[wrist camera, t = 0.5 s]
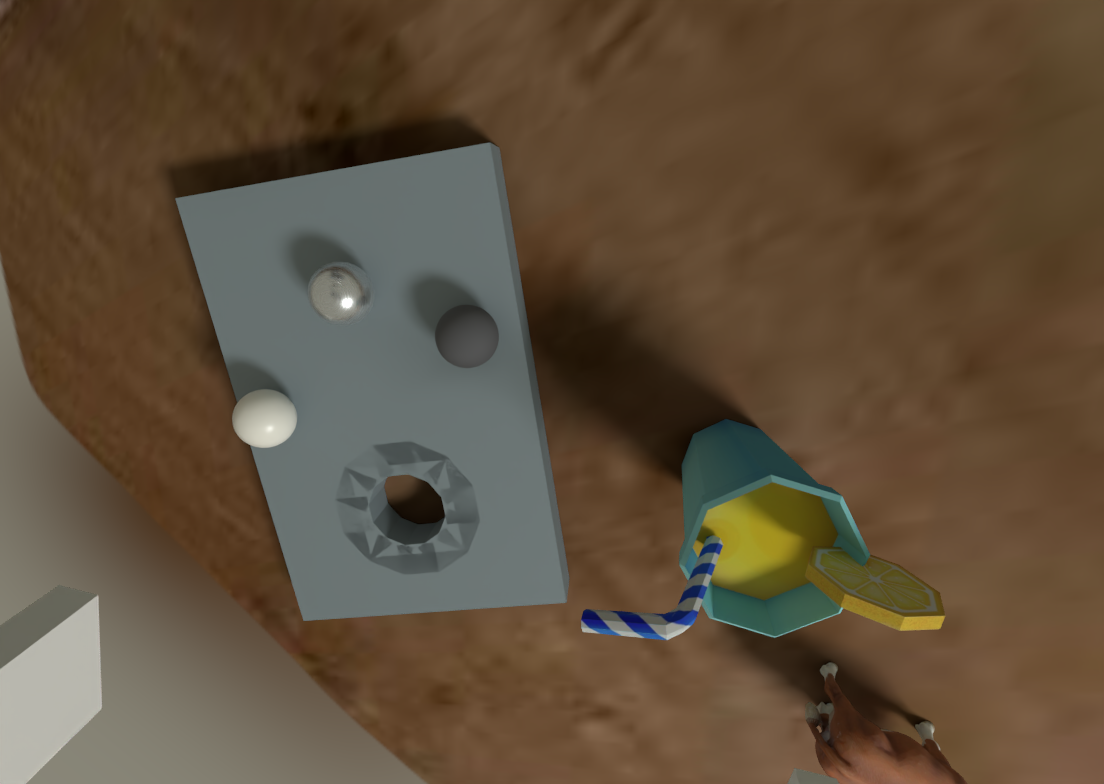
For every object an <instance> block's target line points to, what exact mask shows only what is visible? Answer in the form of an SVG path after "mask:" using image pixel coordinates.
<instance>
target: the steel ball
mask: <svg viewBox="0 0 1104 784" xmlns="http://www.w3.org/2000/svg"><path fill="white" fill-rule="evenodd" d="M374 297H375V292H374V287H373V284H372V282H371V280H370V278H369V277H368V275H367V274H366V273H365V272H364V271H363V270H362V269H361V268H359V267H357V266H356V265H354V264H351V263H348V262H331V263H328V264H325V265H323V266H322V267H320V268H319V269H318V270H317V271H316V272H315V273H314V274H313V276H312V277H311V279H310V281H309V285H308V299H309V303H310V305H311V307H312V309H313V310H314V312H315V313H316V314H317V315H318V316H319V317H320V318H321V319H323V320H324V321H326V322H328V323H331V324H334V325H341V326H345V325H351V324H355V323H357V322H359V321H361V320H362V319H363V318H365V317H366V316H367V315H368V313H369V312H370V310H371V309H372V306H373V303H374Z"/></svg>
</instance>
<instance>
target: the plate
mask: <svg viewBox="0 0 1104 784" xmlns="http://www.w3.org/2000/svg"><path fill="white" fill-rule="evenodd" d="M175 199H176V203H177V206H178V209H179V212H180V216H181V219H182V222H183V226H184V229H185V232H186V235H187V239H188V242H189V245H190V249H191V252H192V255H193V258H194V262H195V265H196V268H197V272H198V275H199V278H200V282H201V285H202V288H203V291H204V295H205V298H206V301H207V305H208V308H209V311H210V314H211V318H212V321H213V324H214V328H215V331H216V334H217V337H218V341H219V344H220V347H221V351H222V354H223V357H224V361H225V364H226V367H227V370H228V374H229V377H230V380H231V384H232V387H233V390H234V393H235V397H236V400H237V403H238V402H239V400H240V399H241V398H242V397H244V396H245V395H247V394H248V393H250V392H253V391H256V390H261V389H270V390H275V391H278V392H280V393H282V394H284V395H285V396H287V397H288V398H289V399H290V400H291V402H292V403H293V405H294V407H295V409H296V412H297V424H296V427H295V430H294V431H293V433H292V434H291V436H290V437H289V438H288V439H287V440H286V441H284V442H283V443H281V444H279V445H277V446H274V447H269V448H259V447H254V446H251V445H250V446H251V449H252V453H253V456H254V459H255V463H256V466H257V469H258V472H259V476H260V479H261V482H262V486H263V489H264V492H265V495H266V499H267V502H268V505H269V509H270V512H271V515H272V518H273V522H274V525H275V528H276V532H277V535H278V538H279V542H280V545H281V548H282V551H283V555H284V558H285V561H286V565H287V568H288V571H289V574H290V578H291V581H292V584H293V588H294V591H295V594H296V597H297V601H298V604H299V607H300V611H301V614H302V617H303V621H308V620H323V619H337V618H352V617H366V616H381V615H395V614H409V613H424V612H438V611H453V610H467V609H482V608H496V607H511V606H525V605H539V604H554V603H566V602H567V593H568V585H569V573H568V567H567V561H566V555H565V549H564V543H563V537H562V530H561V524H560V518H559V512H558V506H557V500H556V493H555V487H554V481H553V475H552V469H551V463H550V457H549V450H548V444H547V438H546V432H545V426H544V420H543V413H542V407H541V401H540V395H539V389H538V383H537V377H536V370H535V364H534V358H533V352H532V346H531V340H530V334H529V327H528V321H527V315H526V309H525V303H524V297H523V290H522V284H521V278H520V272H519V266H518V260H517V254H516V247H515V241H514V235H513V229H512V223H511V217H510V210H509V204H508V198H507V192H506V186H505V180H504V174H503V167H502V161H501V155H500V149H499V147H497V146H495V145H494V144H492V143H484V144H478V145H473V146H467V147H462V148H456V149H450V150H445V151H439V152H433V153H428V154H422V155H416V156H411V157H405V158H400V159H394V160H388V161H383V162H377V163H371V164H366V165H360V166H355V167H349V168H343V169H338V170H332V171H326V172H321V173H315V174H310V175H304V176H298V177H293V178H287V179H281V180H276V181H270V182H264V183H259V184H253V185H248V186H242V187H236V188H231V189H225V190H219V191H214V192H208V193H203V194H197V195H191V196H186V197H180V198H175ZM331 262H348V263H351V264H354V265H356V266H357V267H359V268H361V269H362V270H363V271H364V272H365V273H366V274H367V275H368V277H369V278H370V280H371V282H372V284H373V287H374V292H375V297H374V303H373V306H372V309H371V310H370V312H369V313H368V315H367V316H366V317H365V318H363V319H362V320H361V321H359V322H357V323H355V324H351V325H345V326H341V325H334V324H331V323H328V322H326V321H324V320H323V319H321V318H320V317H319V316H318V315H317V314H316V313H315V312H314V310H313V309H312V307H311V305H310V303H309V299H308V285H309V281H310V279H311V277H312V276H313V274H314V273H315V272H316V271H317V270H318V269H319V268H320V267H322V266H323V265H325V264H328V263H331ZM459 305H474V306H477V307H480V308H482V309H484V310H485V311H486V312H488V313H489V314H490V315H491V316H492V318H493V319H494V321H495V323H496V325H497V327H498V332H499V342H498V346H497V349H496V351H495V353H494V354H493V356H492V357H491V358H490V359H489V360H488V361H487V362H485V363H484V364H482V365H480V366H477V367H473V368H461V367H457V366H455V365H453V364H451V363H449V362H448V361H446V360H445V359H444V358H443V357H442V355H441V354H440V352H439V351H438V348H437V346H436V342H435V330H436V326H437V324H438V321H439V320H440V318H441V317H442V316H443V315H444V314H445V313H446V312H447V311H448V310H450V309H451V308H453V307H456V306H459ZM406 474H409V475H411V476H414V477H416V478H419V479H421V480H424V481H426V482H428V483H429V484H430V485H431V486H432V487H433V488H434V490H435V491H436V492H437V493H438V494H439V495H440V496H441V498H442V502H443V507H444V511H445V517H444V518H442V519H441V520H440V521H438V522H437V523H429V524H416V523H413V522H411V521H408V520H406V519H403V518H401V517H400V516H399V515H398V514H397V513H396V512H395V511H394V510H393V508H392V507H391V506H390V505H389V504H388V501H387V497H386V493H385V489H384V484H385V481H386V478H387V477H388V476H397V475H406Z"/></svg>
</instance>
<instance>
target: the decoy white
mask: <svg viewBox="0 0 1104 784" xmlns="http://www.w3.org/2000/svg"><path fill="white" fill-rule="evenodd" d="M232 422H233V427H234V430H235V432H236V434H237V435H238V436H239V437H240V438H241V439H242V440H243V441H244V442H246V443H247V444H249V445H251V446H254V447H259V448H269V447H274V446H277V445H279V444H281V443H283V442H284V441H286V440H287V439H288V438H289V437H290V436H291V434H292V433H293V431H294V430H295V427H296V424H297V412H296V409H295V407H294V405H293V403H292V402H291V400H290V399H289V398H288V397H287V396H285V395H284V394H282V393H280V392H278V391H275V390H270V389H261V390H256V391H253V392H250V393H248V394H247V395H245V396H244V397H242V398H241V399H240V400H239V402H238V403H237V404H236V406H235V408H234V411H233V415H232Z"/></svg>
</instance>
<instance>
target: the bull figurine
mask: <svg viewBox="0 0 1104 784" xmlns="http://www.w3.org/2000/svg"><path fill="white" fill-rule="evenodd" d="M837 670H838V667H837V665H836V664H835V663H832V662H829V663H827V664H826V665H823V666H822V667H821V669H820V672H821V674H822V675H823V677H824V679H825V687H824V690H825V693H826V694H827V695H828V696H829V698H830V699H831V701H832V703H828V704H826V705H825V704H824V703H823V702H821V703H820V704H819V705H818V706H815V705H814V704H813V703H811V702H808V704H806V710H805V718H806V721H807V723H808V725H809V727H810V729H811V731H812V733H813V735H814V737H815V739H816V744H815V747H816V754H817V757H818V760H819V763H820V765H821V766H822V768H823V770H824V771H825V772H826V774H827V775H828V776H829V777H832V778H836V779H837V781H838V783H840V784H967V782H966V781H965V780H964V779H963V777H962V776H960V775H959V774H958V773H957V772H956V771H955V770H953V769H952V768H951V766H950V764H949V762H948V761H947V759H946V758H945V757H944V755H943V754H942V753H941V751H940V748H939V746H938V744H937V743H936V742H935V741H934V740H933V732H934V726H933V724H932V723H931V722H929V721H924V722H921V723H920V724H919V725H918V724H916V725H915V728H916V730H917V732H918V733H919V735H920V737H921V738H922V740H923V742H922V746H921V745H920V744H919V743H918V742H916V741H915V740H913V739H912V738H910V737H909V736H907V735H904V734H901V733H899V732H894V731H889V730H885V729H880V728H879V727H878V726H876V725H875V724H874V723H872V722H871V721H869V720H867V719H865V718H864V717H863V716H862V715H861V714H860V713H858V712H857V711H856V710H855V709H854V707H853V706H852V704H851V703H850V702H849V700H848V699H847V697H846V696H845V695H844V694H843V693H842V692H841V689H840V687H839V685H838V684H837V683H836V681H835V675H836V672H837ZM818 725H819V726H820V727H821V730H822V732H821V733H819V731H818V729H817V728H816V727H817V726H818Z"/></svg>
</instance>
